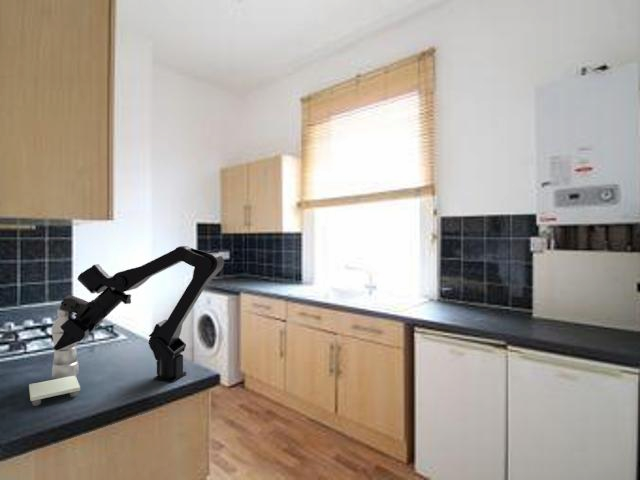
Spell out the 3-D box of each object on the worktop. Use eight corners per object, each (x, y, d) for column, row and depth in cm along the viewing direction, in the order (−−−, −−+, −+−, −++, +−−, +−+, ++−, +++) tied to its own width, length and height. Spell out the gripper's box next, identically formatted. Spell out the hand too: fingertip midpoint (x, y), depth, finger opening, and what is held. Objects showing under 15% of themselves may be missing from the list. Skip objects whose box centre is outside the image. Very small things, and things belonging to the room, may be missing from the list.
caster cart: (75, 384, 103) (75, 375, 103) (80, 397, 96) (80, 387, 96) (29, 393, 97) (29, 384, 97) (30, 408, 89) (30, 397, 89)
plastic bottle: (80, 373, 111) (79, 305, 111) (77, 381, 105) (77, 309, 105) (53, 377, 108) (53, 307, 108) (49, 385, 102) (49, 311, 102)
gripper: (90, 281, 116) (49, 319, 113) (69, 290, 98) (19, 335, 96) (119, 305, 119) (79, 343, 116) (103, 319, 101) (55, 364, 98)
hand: (59, 345), depth 106 cm, fingers closed on plastic bottle, 6 cm apart
